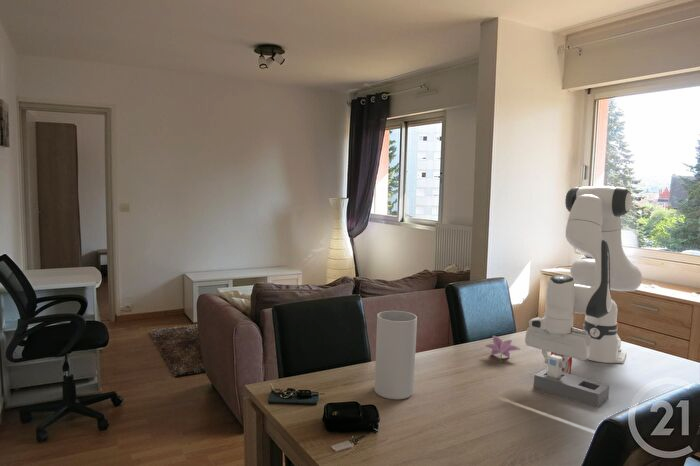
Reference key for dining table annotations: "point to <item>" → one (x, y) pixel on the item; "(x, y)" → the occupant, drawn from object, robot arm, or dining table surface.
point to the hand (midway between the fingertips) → (554, 365)
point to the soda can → (568, 363)
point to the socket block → (573, 388)
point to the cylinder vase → (395, 354)
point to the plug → (554, 366)
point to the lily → (501, 347)
